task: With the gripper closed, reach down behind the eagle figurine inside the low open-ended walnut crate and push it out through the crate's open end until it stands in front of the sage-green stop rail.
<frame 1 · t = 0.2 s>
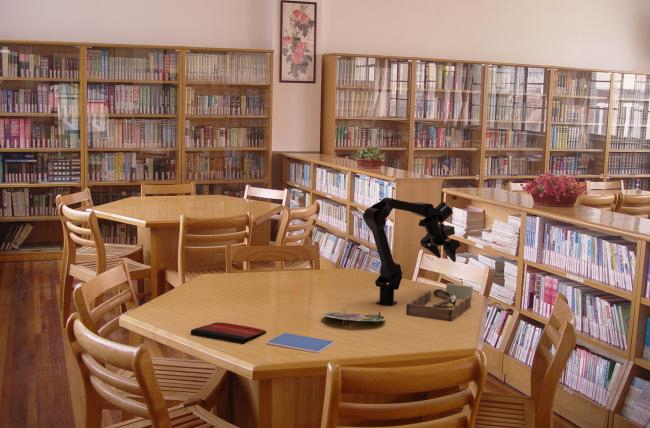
hand: (447, 259, 323), 15 cm above the table, tool tilted 30°, fingers open, 9 cm apart
binder: (229, 335, 263), on the table
stop rail: (458, 296, 322), on the table
eagle figurine: (444, 306, 306), on the table
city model: (355, 322, 282), on the table
blue book: (300, 345, 254), on the table
crate: (439, 310, 300), on the table
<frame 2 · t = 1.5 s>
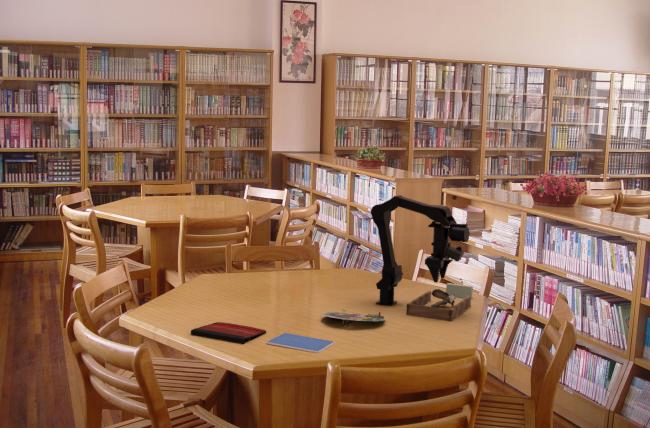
hand: (439, 280, 296), 12 cm above the table, tool pointing down, fingers open, 8 cm apart
nothing on the table moved.
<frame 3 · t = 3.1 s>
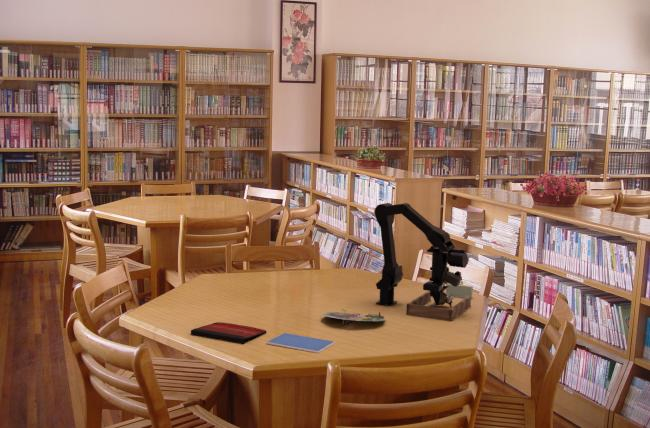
hand: (437, 304, 297), 3 cm above the table, tool pointing down, fingers closed
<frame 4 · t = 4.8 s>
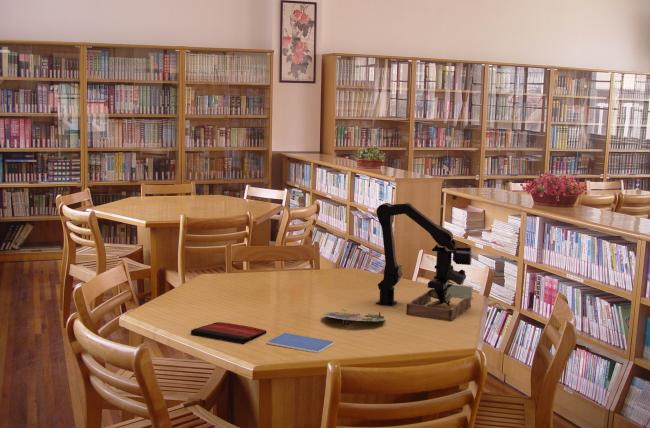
hand: (442, 302, 302), 2 cm above the table, tool pointing down, fingers closed
eagle figurine: (438, 306, 306), on the table, touching gripper
everything else where it was.
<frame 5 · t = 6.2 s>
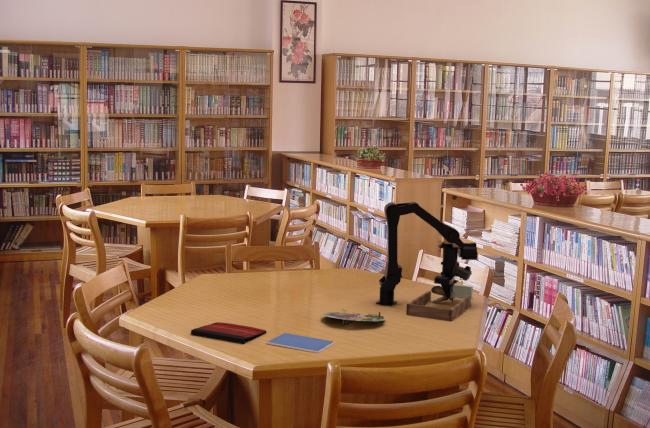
hand: (448, 298, 309), 2 cm above the table, tool pointing down, fingers closed
eagle figurine: (443, 302, 312), on the table, touching gripper
everything else where it was.
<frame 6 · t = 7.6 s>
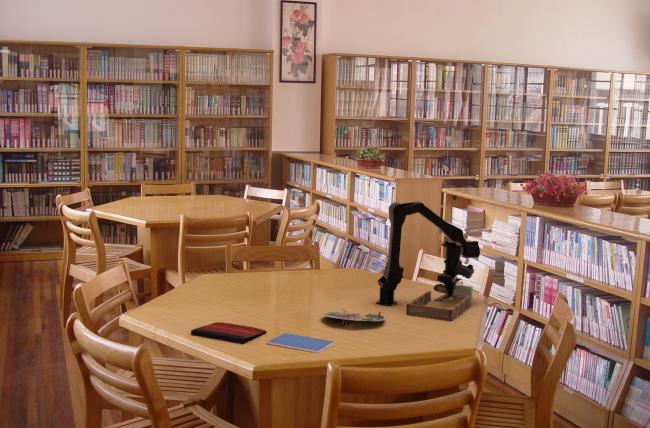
hand: (450, 296, 312), 2 cm above the table, tool pointing down, fingers closed
eagle figurine: (445, 300, 316), on the table, touching gripper
everything else where it was.
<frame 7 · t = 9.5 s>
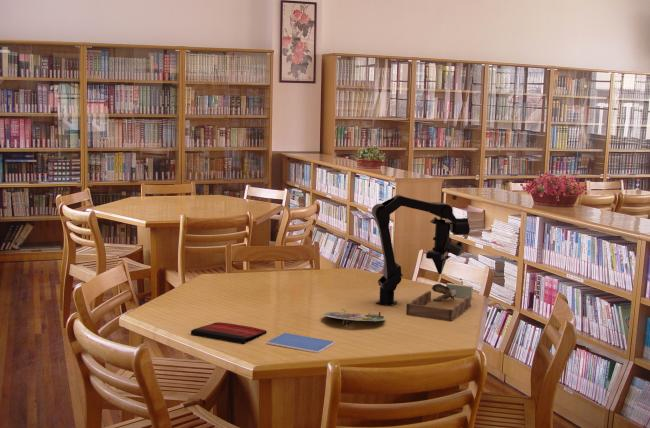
hand: (439, 273, 310), 12 cm above the table, tool pointing down, fingers closed
eagle figurine: (443, 300, 316), on the table
everything else where it was.
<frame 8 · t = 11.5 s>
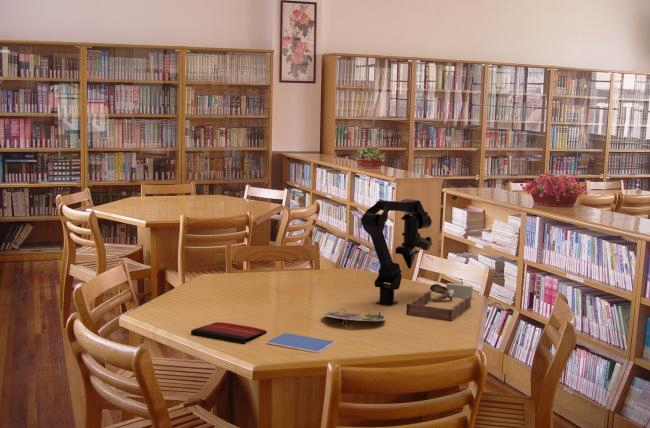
hand: (409, 268, 318), 12 cm above the table, tool pointing down, fingers closed
nothing on the table moved.
at the end: eagle figurine inside the target area (6.3 cm from its centre), on the table; eagle figurine tilted 0°; eagle figurine moved 9.2 cm from its start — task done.
